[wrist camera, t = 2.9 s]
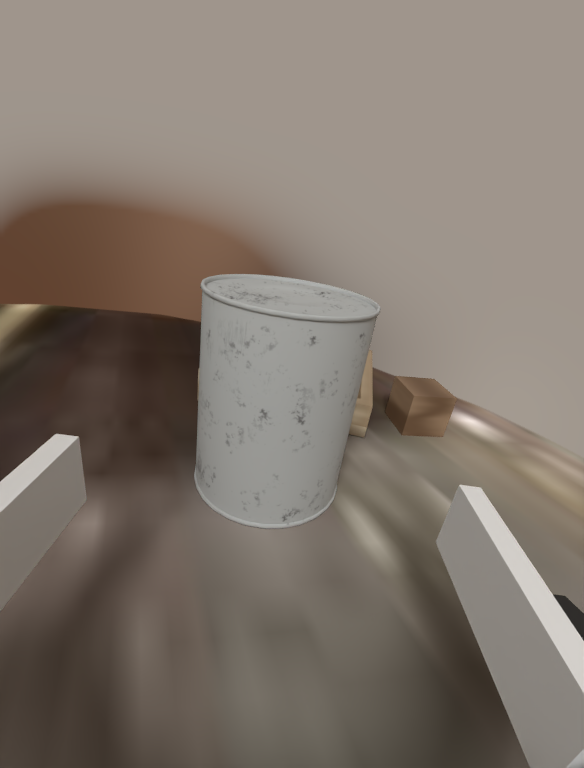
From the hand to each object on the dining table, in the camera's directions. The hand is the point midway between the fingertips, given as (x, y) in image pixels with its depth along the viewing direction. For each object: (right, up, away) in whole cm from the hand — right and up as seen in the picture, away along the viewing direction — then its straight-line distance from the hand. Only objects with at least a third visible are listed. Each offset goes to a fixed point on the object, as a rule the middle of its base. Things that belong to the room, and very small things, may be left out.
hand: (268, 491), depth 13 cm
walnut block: (+12, 0, +21) cm, 25 cm away
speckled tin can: (-1, -2, +12) cm, 12 cm away
